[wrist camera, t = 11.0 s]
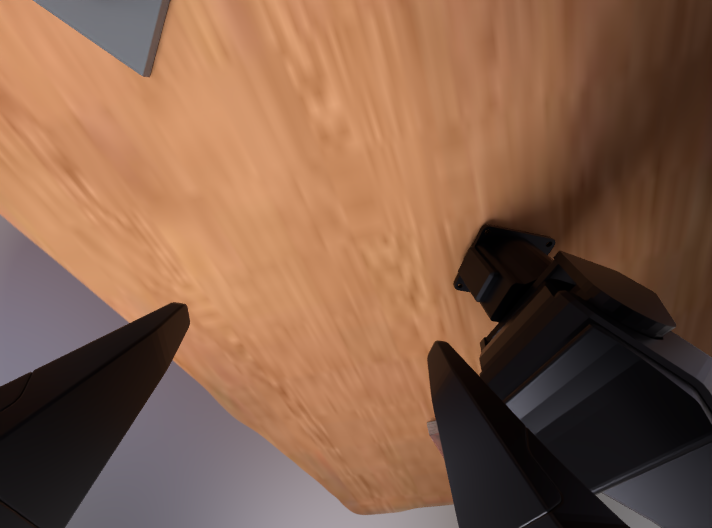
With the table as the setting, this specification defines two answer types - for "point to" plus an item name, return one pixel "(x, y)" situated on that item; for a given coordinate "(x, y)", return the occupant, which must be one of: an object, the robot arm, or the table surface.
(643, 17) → the table surface
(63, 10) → the slate coaster
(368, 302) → the table surface
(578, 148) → the table surface
